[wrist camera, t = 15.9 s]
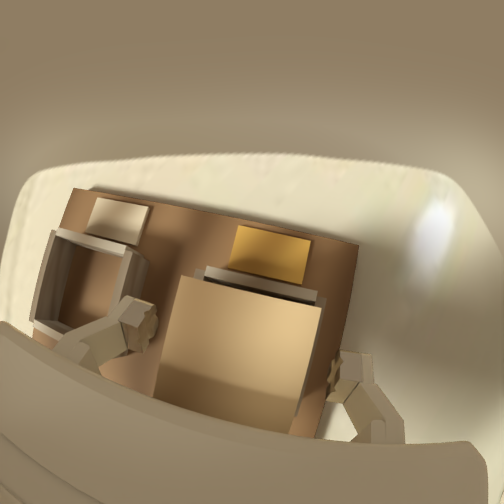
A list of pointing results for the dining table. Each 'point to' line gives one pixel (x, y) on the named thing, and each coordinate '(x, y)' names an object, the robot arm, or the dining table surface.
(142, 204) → the socket board
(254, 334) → the wooden plug
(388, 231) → the dining table surface
